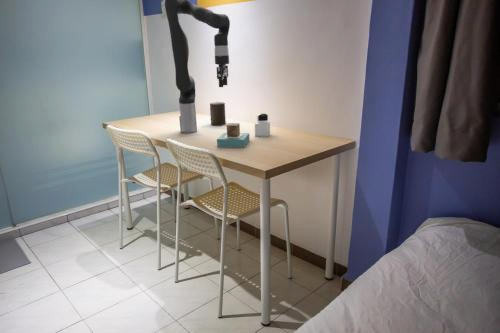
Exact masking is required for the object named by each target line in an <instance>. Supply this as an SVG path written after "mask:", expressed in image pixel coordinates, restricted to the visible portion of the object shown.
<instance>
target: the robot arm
mask: <svg viewBox="0 0 500 333" xmlns="http://www.w3.org/2000/svg"><path fill="white" fill-rule="evenodd" d="M164 8H165V13H166V17H167V22H168V27H169V36H170V42H171V49H172V54H173V55H172V56H173V64H174V68H175V86H176V88H177V89H178V91H179V93H180V94H179V98H178V103H179V129H180V133H185V134H187V133H191V134H192V133H195V132H197V131H198V126H197V125H198V124H197V111H196V110H197V109H196V82H195V79H194V78H193V76H192V75H190V74H189V67H188V66H189V64H188V63H189V56H190V48H189V39H188V37H187V34H186V33H185V30H184V29H183V28H182V25H181V23H180V21H179V19H180V18H179V15H180V14H184V15H189V16H191V17H193V18H194V19H195V20H197V21H198V22H201V23H203V24H206V25H207V26H209V27H210V28H213V29H218V31H217V33H216V34H214V36H213V38H214V39H213V43H214V48H213V50H214V64H215V65H218V66H216V79H217V80H218V88H224V86H228V77H229V64H230V55H229V54H230V52H229V51H230V50H229V42H228V39H229V38H228V37H229V31H230V27H231V26H230V25H231V22H230V21H231V20H230V18H229V16H228V15H226V14H225V13H223V14H222V13H215V12H214V11H213V10H211V9H208V8H205V7H203V6H200V5H196V4H195V3H193V2H192V1H189V0H164Z"/></svg>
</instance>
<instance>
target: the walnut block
mask: <svg viewBox="0 0 500 333" xmlns="http://www.w3.org/2000/svg"><path fill="white" fill-rule="evenodd" d="M240 127H241V126H240V123H237V122H235V123H233V122H230V123H228V124H226V133H227V137H238V136H239V135H240V133H241V131H240V130H241V129H240Z"/></svg>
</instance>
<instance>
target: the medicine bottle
mask: <svg viewBox="0 0 500 333" xmlns="http://www.w3.org/2000/svg"><path fill="white" fill-rule="evenodd" d="M268 116H269V115H268V114H267V113H258V114H257V115H256V122H255V123H254V136H255V137H265V138H266V137H268V136H269V135H271V122H270V121H268V119H269V118H268Z"/></svg>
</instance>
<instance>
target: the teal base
mask: <svg viewBox="0 0 500 333" xmlns="http://www.w3.org/2000/svg"><path fill="white" fill-rule="evenodd" d="M249 142H250V133H248V132H240V135H239V136H238V137H227V132H224V133H222V134H220V136H219V137H217V138H216V143H217V144H216V145H217V148H218V147H220V148H245V147H246V146H247V144H248V143H249Z"/></svg>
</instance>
